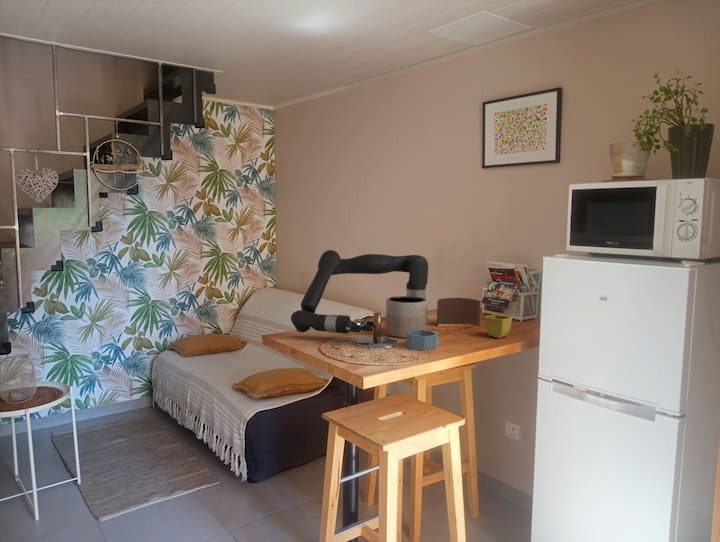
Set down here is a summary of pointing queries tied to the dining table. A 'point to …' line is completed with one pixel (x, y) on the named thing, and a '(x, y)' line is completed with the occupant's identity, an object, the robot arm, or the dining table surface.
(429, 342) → the bowl
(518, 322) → the dining table surface
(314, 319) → the robot arm
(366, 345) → the spindle on round base
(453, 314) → the letter holder
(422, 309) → the planter
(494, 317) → the flower pot
